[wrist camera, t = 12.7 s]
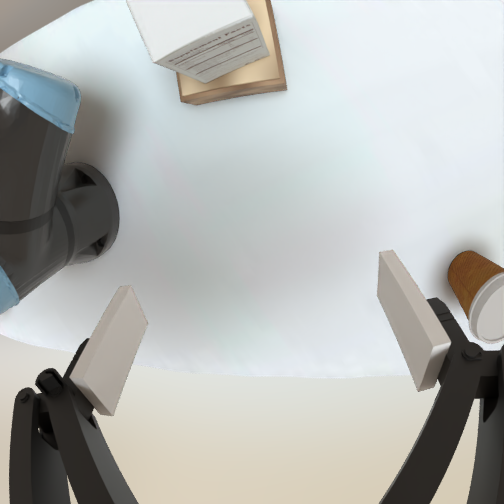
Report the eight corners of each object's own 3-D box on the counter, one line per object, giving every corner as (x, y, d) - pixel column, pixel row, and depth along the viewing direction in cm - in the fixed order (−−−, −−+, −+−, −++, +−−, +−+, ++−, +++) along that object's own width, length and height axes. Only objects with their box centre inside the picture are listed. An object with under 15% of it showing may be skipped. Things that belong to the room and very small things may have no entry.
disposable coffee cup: (498, 266, 36) (540, 305, 25) (458, 309, 40) (490, 358, 29) (470, 226, 35) (517, 260, 24) (426, 274, 39) (460, 322, 28)
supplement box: (179, 30, 26) (119, -10, 14) (243, 1, 24) (214, -58, 12) (204, 86, 28) (150, 65, 17) (272, 57, 26) (256, 14, 15)
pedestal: (196, 105, 35) (178, 101, 29) (185, 27, 31) (166, 13, 25) (287, 89, 33) (285, 81, 27) (272, 9, 29) (267, -11, 23)
